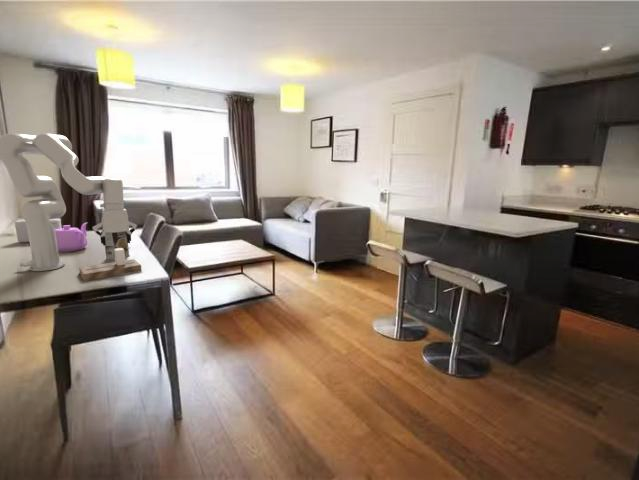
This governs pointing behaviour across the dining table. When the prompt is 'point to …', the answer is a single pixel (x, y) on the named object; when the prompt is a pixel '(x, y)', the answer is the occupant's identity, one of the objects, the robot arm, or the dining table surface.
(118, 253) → the white rectangular block
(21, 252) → the dining table surface
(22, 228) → the stereo radio cassette player
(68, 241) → the teapot
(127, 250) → the coffee box
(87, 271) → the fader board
